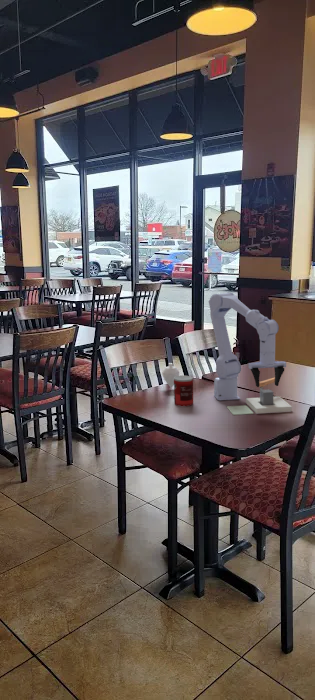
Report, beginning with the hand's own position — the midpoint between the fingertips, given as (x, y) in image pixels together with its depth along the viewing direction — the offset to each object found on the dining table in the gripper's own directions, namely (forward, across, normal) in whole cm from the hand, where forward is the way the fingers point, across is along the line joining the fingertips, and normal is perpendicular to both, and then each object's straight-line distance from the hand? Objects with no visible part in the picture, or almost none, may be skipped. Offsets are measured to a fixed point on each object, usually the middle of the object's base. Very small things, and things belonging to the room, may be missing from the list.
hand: (267, 385), depth 201 cm
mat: (+9, -11, -1) cm, 14 cm away
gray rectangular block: (+9, 0, 0) cm, 9 cm away
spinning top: (+9, -33, +35) cm, 49 cm away
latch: (+2, +4, +9) cm, 10 cm away
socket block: (+9, 0, +1) cm, 9 cm away
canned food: (+9, -31, +12) cm, 35 cm away
